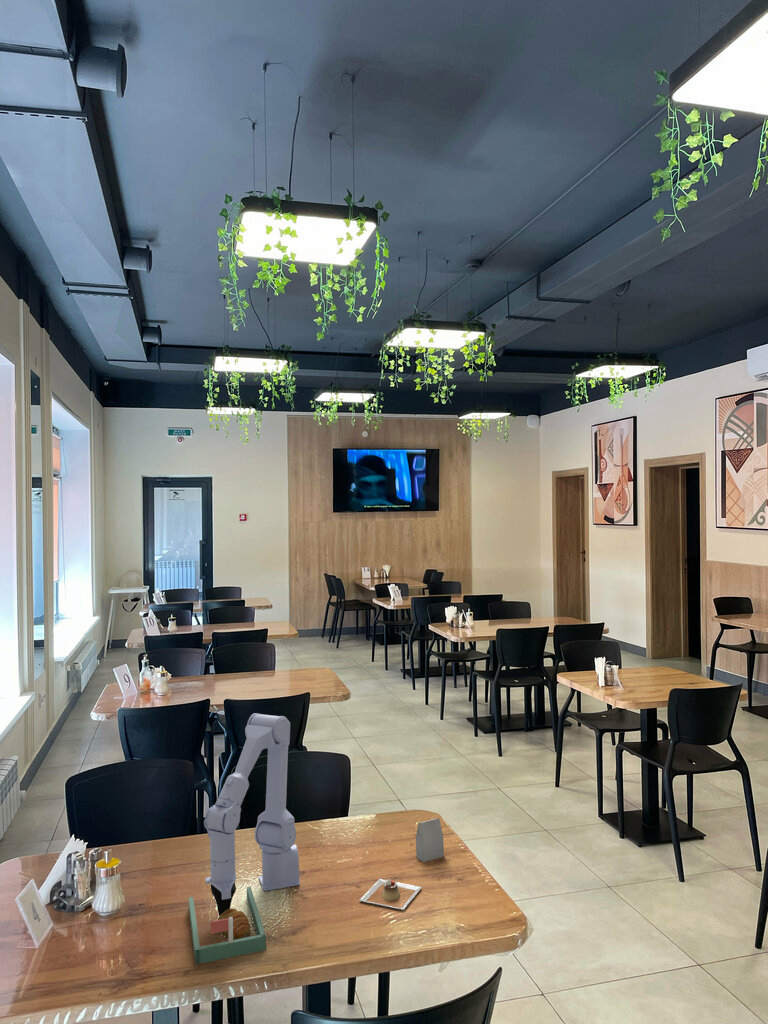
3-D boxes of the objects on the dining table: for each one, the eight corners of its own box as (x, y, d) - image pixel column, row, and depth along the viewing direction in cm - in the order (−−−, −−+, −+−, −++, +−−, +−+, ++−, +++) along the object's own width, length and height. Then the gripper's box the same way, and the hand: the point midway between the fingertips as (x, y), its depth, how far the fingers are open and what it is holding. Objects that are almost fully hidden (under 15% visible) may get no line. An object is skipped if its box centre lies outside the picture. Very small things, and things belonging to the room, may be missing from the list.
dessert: (422, 891, 182) (421, 872, 182) (403, 914, 171) (403, 894, 171) (379, 882, 187) (379, 864, 187) (358, 904, 176) (358, 885, 176)
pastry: (258, 936, 162) (257, 919, 163) (230, 947, 158) (229, 930, 159) (240, 919, 170) (239, 903, 170) (213, 929, 166) (212, 912, 166)
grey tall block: (443, 856, 200) (442, 820, 200) (423, 862, 197) (422, 825, 197) (436, 851, 203) (435, 816, 204) (416, 857, 200) (415, 821, 200)
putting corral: (250, 898, 179) (250, 866, 180) (266, 950, 157) (265, 912, 157) (188, 910, 175) (188, 876, 175) (195, 964, 152) (194, 926, 152)
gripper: (203, 848, 175) (204, 904, 175) (207, 873, 161) (209, 935, 161) (232, 843, 177) (233, 899, 177) (239, 868, 164) (240, 929, 163)
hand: (223, 916), depth 169 cm, fingers closed
